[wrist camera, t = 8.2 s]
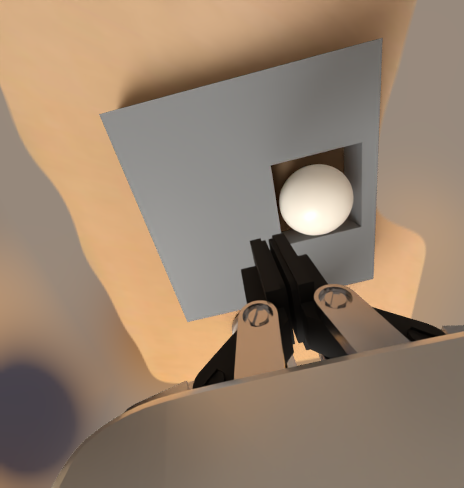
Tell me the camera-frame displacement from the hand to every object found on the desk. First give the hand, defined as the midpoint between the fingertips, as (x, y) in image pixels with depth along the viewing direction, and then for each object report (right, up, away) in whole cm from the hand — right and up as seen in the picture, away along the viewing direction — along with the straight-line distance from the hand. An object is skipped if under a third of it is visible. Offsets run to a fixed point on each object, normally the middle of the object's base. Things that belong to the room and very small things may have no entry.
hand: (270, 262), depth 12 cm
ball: (+5, +5, +9) cm, 11 cm away
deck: (+1, +5, +11) cm, 13 cm away
